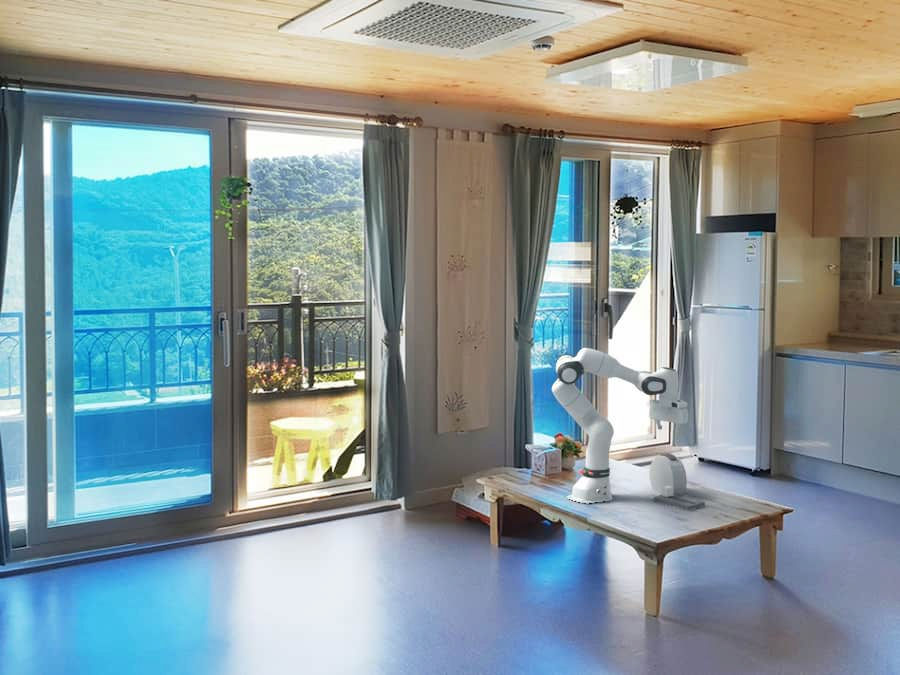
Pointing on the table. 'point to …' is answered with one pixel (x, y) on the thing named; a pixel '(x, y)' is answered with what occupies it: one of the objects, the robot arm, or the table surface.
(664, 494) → the fader knob
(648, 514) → the table surface
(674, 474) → the alarm clock
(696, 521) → the table surface
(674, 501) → the fader deck
